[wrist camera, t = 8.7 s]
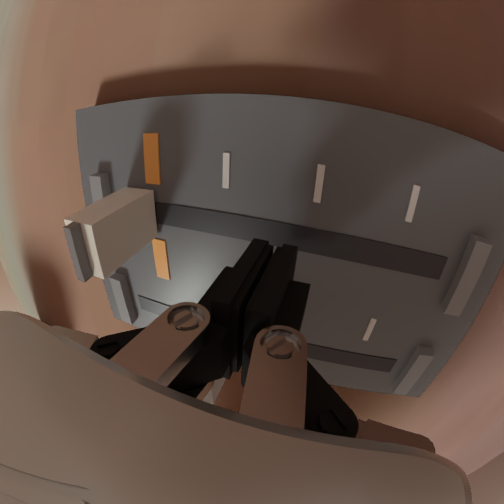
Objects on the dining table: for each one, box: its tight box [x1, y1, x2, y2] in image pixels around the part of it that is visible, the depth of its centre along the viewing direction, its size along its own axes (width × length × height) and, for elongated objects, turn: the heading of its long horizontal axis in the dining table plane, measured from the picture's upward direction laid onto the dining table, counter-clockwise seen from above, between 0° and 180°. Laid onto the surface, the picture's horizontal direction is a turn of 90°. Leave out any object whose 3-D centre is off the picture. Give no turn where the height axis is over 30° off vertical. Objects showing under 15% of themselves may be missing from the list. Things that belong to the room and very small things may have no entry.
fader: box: [63, 187, 158, 282], centre depth 12 cm, size 3×2×5 cm
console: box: [76, 94, 504, 397], centre depth 14 cm, size 16×24×2 cm, turn 88°
